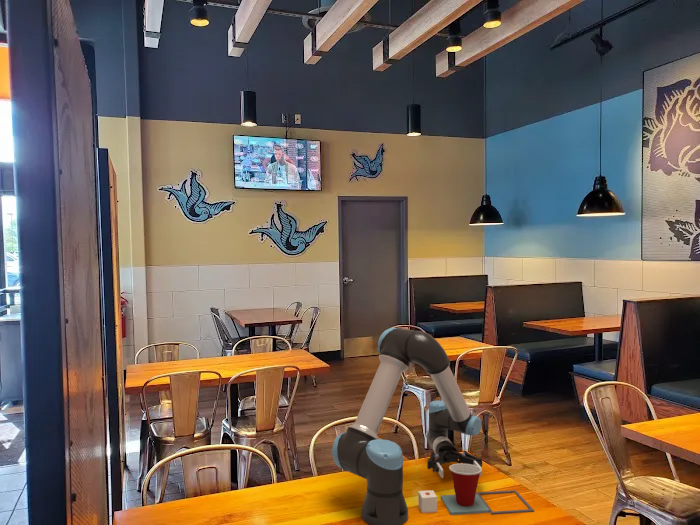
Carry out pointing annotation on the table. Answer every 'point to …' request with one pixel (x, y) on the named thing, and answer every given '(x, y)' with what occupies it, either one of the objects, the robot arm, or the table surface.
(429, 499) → the die
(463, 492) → the plastic cup
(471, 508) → the pad
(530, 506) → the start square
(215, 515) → the table surface
